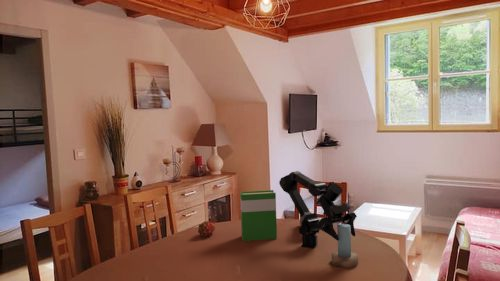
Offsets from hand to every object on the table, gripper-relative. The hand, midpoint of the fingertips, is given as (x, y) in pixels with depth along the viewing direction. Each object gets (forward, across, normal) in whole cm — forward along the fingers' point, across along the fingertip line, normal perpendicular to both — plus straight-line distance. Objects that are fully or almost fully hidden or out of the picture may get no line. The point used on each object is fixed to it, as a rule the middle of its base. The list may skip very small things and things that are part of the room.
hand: (346, 238), depth 157 cm
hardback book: (-27, -14, +43) cm, 53 cm away
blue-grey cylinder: (+5, 0, +7) cm, 8 cm away
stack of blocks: (-24, +13, +40) cm, 48 cm away
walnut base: (+7, 0, +9) cm, 11 cm away
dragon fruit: (-41, -36, +57) cm, 79 cm away
